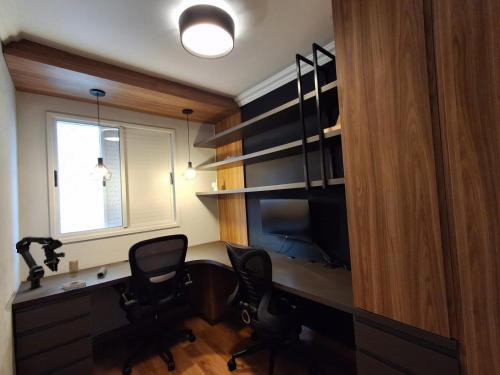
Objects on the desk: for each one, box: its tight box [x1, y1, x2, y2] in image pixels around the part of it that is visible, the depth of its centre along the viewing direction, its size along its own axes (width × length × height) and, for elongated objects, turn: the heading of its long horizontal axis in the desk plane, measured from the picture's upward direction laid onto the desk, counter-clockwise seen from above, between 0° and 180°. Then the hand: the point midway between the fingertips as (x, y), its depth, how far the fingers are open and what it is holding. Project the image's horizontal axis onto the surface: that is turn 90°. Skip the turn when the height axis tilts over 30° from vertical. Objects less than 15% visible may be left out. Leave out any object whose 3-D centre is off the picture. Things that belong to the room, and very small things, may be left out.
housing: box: [61, 279, 87, 291], centre depth 181 cm, size 12×12×3 cm
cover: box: [67, 259, 80, 279], centre depth 182 cm, size 7×7×12 cm
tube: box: [96, 266, 108, 280], centre depth 211 cm, size 5×5×25 cm
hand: (55, 271), depth 181 cm, fingers open, 9 cm apart
